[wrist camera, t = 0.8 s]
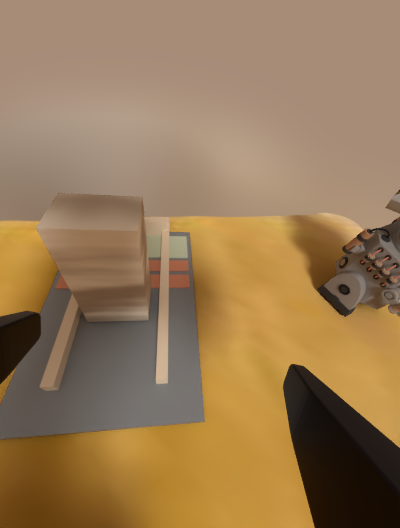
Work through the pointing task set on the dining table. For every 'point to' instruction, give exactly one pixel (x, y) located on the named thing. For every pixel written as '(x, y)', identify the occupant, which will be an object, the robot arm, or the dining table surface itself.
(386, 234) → the figurine
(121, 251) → the cream block
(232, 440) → the dining table surface
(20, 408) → the track
